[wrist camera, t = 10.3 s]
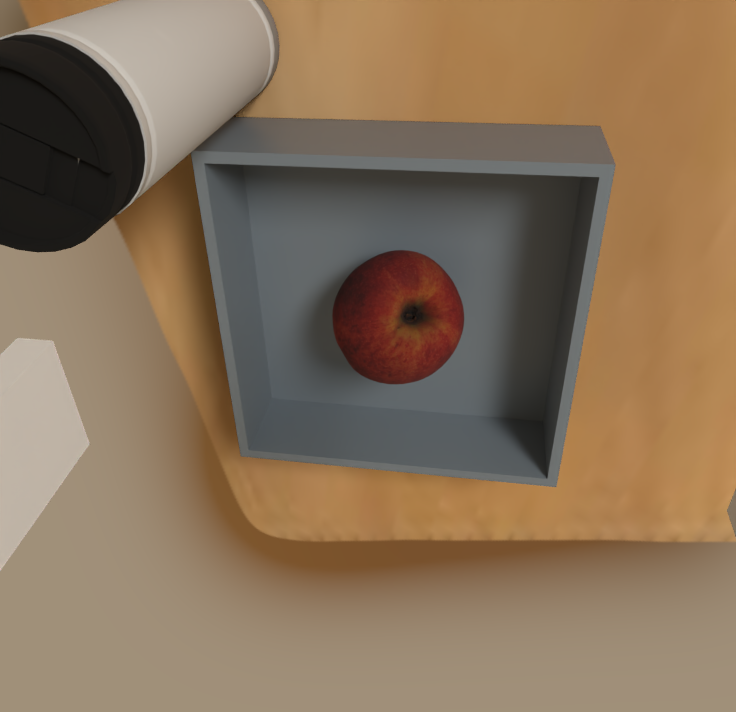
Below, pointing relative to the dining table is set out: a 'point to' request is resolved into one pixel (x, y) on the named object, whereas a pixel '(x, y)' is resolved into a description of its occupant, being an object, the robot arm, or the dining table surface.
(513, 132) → the tub
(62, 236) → the travel mug
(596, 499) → the dining table surface
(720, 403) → the dining table surface
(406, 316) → the apple
